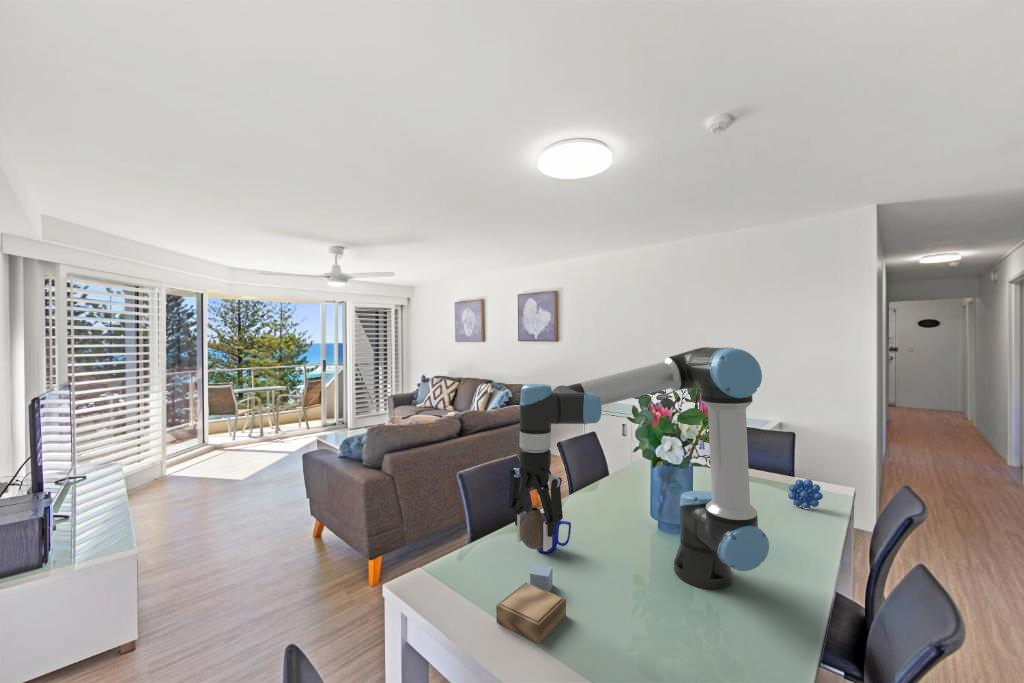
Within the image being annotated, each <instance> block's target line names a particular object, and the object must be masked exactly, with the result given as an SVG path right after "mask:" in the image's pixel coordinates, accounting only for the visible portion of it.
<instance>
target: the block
mask: <svg viewBox="0 0 1024 683" xmlns="http://www.w3.org/2000/svg"><path fill="white" fill-rule="evenodd" d="M529 581H530V582H529V584H531V585H533V586H536V587H538V588H541V589H543V590H545V591H548V592H550V593H551V590H552V587H553V585H554V584H553V566H550V565H548V566H547V565H543V564H542V565H540V564H535V563H534V565H533V567H532V569H531V571H530V573H529Z"/></svg>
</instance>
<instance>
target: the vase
mask: <svg viewBox="0 0 1024 683" xmlns="http://www.w3.org/2000/svg"><path fill="white" fill-rule="evenodd" d="M542 513H543V512H542V511H541V508H540V507H536V506H532V507H530V508H529V509H528V512H526V516H525V517H524V518H523V520H522V523H521V527H520V535H521V539H522V541H521V542H522V543H523V544H524V545H525V547H526V548H528V549H531V550H537V549H539V548H541V547H543V523H544V522H546V518H545V517H544V516H543V514H542Z"/></svg>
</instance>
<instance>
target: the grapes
mask: <svg viewBox="0 0 1024 683" xmlns="http://www.w3.org/2000/svg"><path fill="white" fill-rule="evenodd" d="M788 490H789V491H790V492H788V495H787V496H788V499H789V500H792V501H793V505H794V506H795V505H796V506H795V507H801V508H803V507H804V508H809V509H810V508H811V507H813V508H815V507H816V508H817V507H819V505H820V501H821V500H822V499H823V498H824V495H823V493H822V492H821V486H820V485H819V484H817V483H816V484H815V483H814V481H812V479H810V478H809V479H808V478H807V479H805V480H803V479H799V478H798V479H796V480H795V482H794V484H793V483H792V484H790V485H789V486H788ZM804 508H803V509H804Z"/></svg>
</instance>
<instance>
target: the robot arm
mask: <svg viewBox="0 0 1024 683" xmlns="http://www.w3.org/2000/svg"><path fill="white" fill-rule="evenodd" d="M762 380H763V374H762V369H761V366H760V363H759V361H758V360H757V358H755V356H753V355H752V354H751V353H749V351H746V350H744V349H739V348H734V347H727V346H726V347H708V346H707V347H698V348H694V349H691V350H688V351H684V352H681V353H678V354H674V355H671V356H668V357H665V358H663V360H662V361H661V362H658V363H654V364H650V365H646V366H642V367H638V368H634V369H630V370H626V371H623V372H617V373H614V374H610V375H609V374H608V375H607V376H602V377H598V378H593V379H590V380H585V381H582V382H578V383H574V384H573V383H572V384H569V385H563V384H562V385H557V386H555V387H553V388H552V386H551V385H550V384H546V383H527V384H523V385H522V386H521V388H520V400H519V448H520V449H519V464H520V467H514V468H511V469H510V470H509V475H510V484H509V485H510V486H509V495H508V504H507V505H508V506H507V507H508V509H509V510H513V512H514V524H515V526H516V527H517V528H516V529H517V530H516V542H518V543H520V542H523V541H522V539H521V535H520V527H521V523H522V520H523V518H524V517H525V516H526V514H527V511H525V507H526V503H527V500H528V498H529V494H530V491H531V489H532V488H533V489H534V490H536V493H537V495H538V496H539V499H540V503H541V507H542V510H543V513H544V514H545V518H546V522H544V523H543V551H545V552H546V551H547V550H549V549H550V548H552V536H554V534H555V523H557V522H559V521H563V517H564V516H563V515H564V514H563V505H562V503H563V502H562V494H561V493H562V490H561V486H562V483H563V482H562V481H563V480H562V477H561V476H560V477H559V476H558V477H556V476H554V475H552V472H551V469H550V468H551V465H552V464H551V463H552V461H551V460H552V458H551V456H552V451H551V450H550V448H551V446H552V442H551V441H552V440H551V439H552V425H561V424H563V425H576V424H577V425H589V424H597V423H598V422H600V420H601V417H602V409H603V408H602V406H606V405H610V404H613V403H618V402H622V401H625V400H629V399H633V398H639V397H641V396H645V395H649V394H654V393H657V392H662V391H665V390H669V389H671V390H672V391H681V390H688V389H690V390H691V389H693V390H695V389H696V390H700V401H701V403H702V404H704V405H705V407H706V408H707V416H708V417H707V418H708V419H707V420H708V437H709V438H708V439H709V441H708V442H709V461H710V462H709V463H710V465H709V466H710V484H711V486H710V488H711V491H708V490H689V491H685V492H683V493H682V494H680V499H679V500H680V501H679V525H680V526H679V528H680V529H679V530H680V531H679V532H680V534H679V536H680V537H679V538H680V539H679V540H680V541H679V542H680V544H679V546H678V548H677V551H676V554H675V557H674V561H673V571H674V574H675V575H676V576H677V577H678V578H679V579H681V580H682V581H684V582H685V583H687V584H689V585H692V586H694V587H698V588H702V589H708V590H721V589H725V588H727V587H730V585H732V582H733V572H732V570H734V571H735V570H736V571H738V572H749V571H753V570H755V569H756V568H758V567H759V566H760V565H761V563H763V562H765V560H766V559H767V557H768V555H769V550H770V541H769V539H768V536H767V535H766V533H765V532H764V531H763V530H762V529H761V528H760V527H759V524H758V522H759V521H758V520H759V519H758V511H757V509H756V508H755V507H754V506H753V505H752V504H751V503H750V502H751V498H750V476H749V474H750V473H749V456H748V455H749V453H748V452H749V450H748V431H747V430H748V429H747V428H748V427H747V426H748V425H747V409H748V407H749V406H751V404H752V403H753V395H754V394H755V393H756V392H757V391H758V388H760V386H761V384H762ZM521 478H522V481H521Z"/></svg>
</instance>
